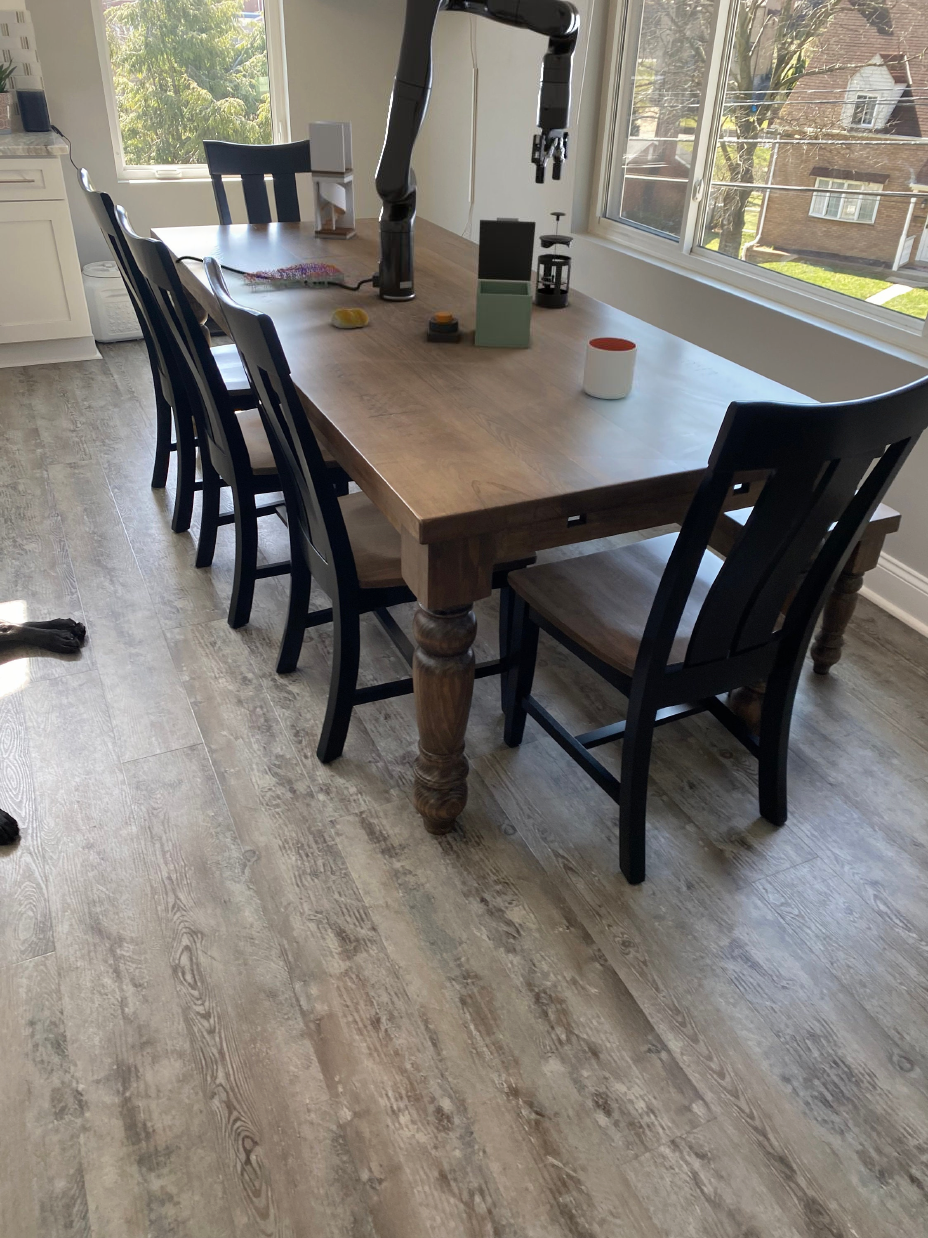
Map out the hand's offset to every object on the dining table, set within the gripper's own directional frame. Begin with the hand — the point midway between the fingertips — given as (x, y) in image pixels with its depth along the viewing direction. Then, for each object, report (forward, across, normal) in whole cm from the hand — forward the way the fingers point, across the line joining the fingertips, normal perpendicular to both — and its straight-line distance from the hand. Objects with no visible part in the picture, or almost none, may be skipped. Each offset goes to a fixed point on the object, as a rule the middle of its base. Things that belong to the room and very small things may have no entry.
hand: (548, 181), depth 216 cm
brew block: (+32, +32, -8) cm, 46 cm away
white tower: (+32, -48, -108) cm, 122 cm away
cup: (+32, +45, +41) cm, 69 cm away
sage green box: (+32, +25, +4) cm, 41 cm away
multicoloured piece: (+32, +16, -70) cm, 78 cm away
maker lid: (+13, +22, +2) cm, 25 cm away
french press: (+32, -12, -3) cm, 34 cm away
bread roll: (+32, +38, -32) cm, 59 cm away
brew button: (+28, +33, -8) cm, 44 cm away
